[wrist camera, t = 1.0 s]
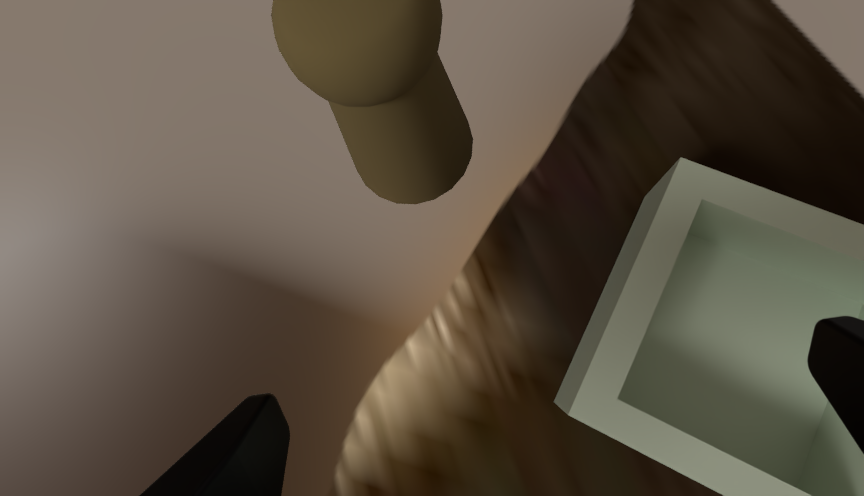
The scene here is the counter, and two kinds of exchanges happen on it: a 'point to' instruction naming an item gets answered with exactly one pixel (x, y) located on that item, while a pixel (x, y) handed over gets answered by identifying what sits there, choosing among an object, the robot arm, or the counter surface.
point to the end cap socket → (723, 338)
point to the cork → (382, 89)
